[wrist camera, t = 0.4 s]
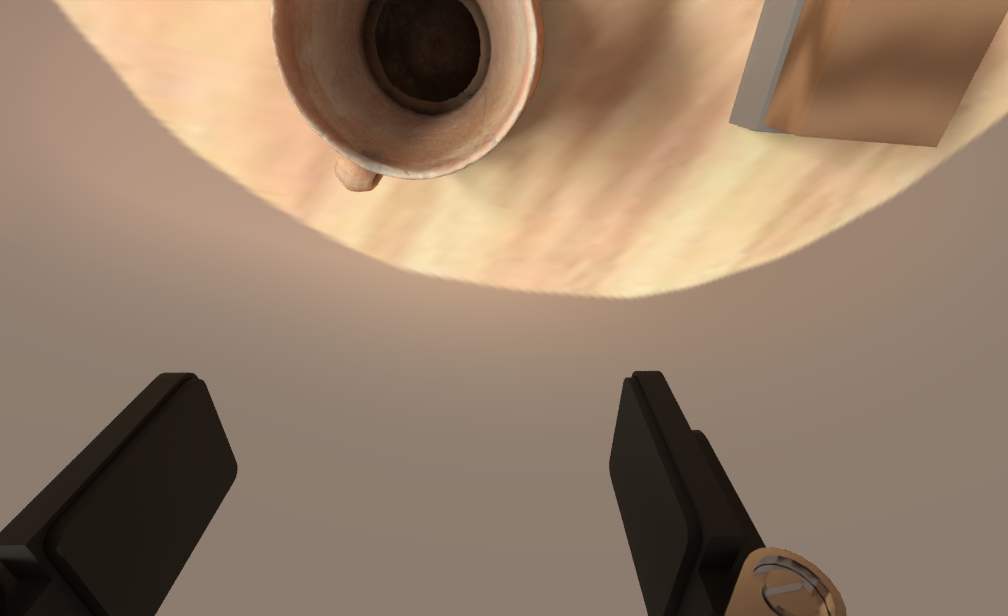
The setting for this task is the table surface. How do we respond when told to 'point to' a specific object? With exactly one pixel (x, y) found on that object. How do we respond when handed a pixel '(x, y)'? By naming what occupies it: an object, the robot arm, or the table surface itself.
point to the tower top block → (881, 68)
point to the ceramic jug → (408, 79)
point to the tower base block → (765, 63)
